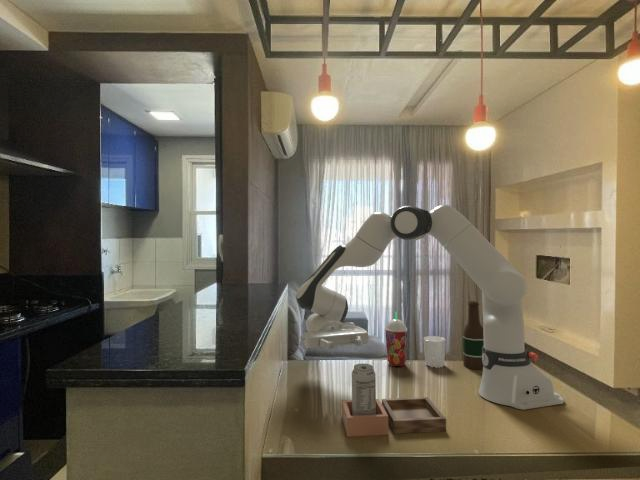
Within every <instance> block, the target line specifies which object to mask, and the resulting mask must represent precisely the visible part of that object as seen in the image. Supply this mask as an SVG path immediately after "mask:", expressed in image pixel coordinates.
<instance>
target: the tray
mask: <svg viewBox="0 0 640 480" xmlns="http://www.w3.org/2000/svg"><path fill="white" fill-rule="evenodd" d="M381 404H382V406H383V407H384V409H385V411H386V413H387V415H388V426H390V428H391V430H392V433H393V434H408V433H409V434H411V433H412V434H413V433H429V432H430V433H431V432H435V433H436V432H447V417H445V416H444V414H442V412H440V410H439V409H438V408H437V407H436V405H435V404H434V403H433V402H432V401H431V400H430V398H429V397H428V396H425V397H424V396H423V397H421V396H419V397H400V398H399V397H398V398H394V397H393V398H381Z"/></svg>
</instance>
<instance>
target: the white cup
mask: <svg viewBox="0 0 640 480" xmlns="http://www.w3.org/2000/svg"><path fill="white" fill-rule="evenodd" d="M423 350H424V351H423V352H424V354H423V355H424V362H425V366H427V365H428V366H430V367H429V368H433V367H435V368H434V369H440V367H441V368H443V367H445V358H446V357H445V356H446V338H444V337H443V336H437V335H428V336H424V337H423ZM428 366H427V367H428Z"/></svg>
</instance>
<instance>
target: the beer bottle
mask: <svg viewBox="0 0 640 480" xmlns="http://www.w3.org/2000/svg"><path fill="white" fill-rule="evenodd" d="M467 305H468V317H467V318H468V319H467V324H465V326H464V328H463V330H462V331H463V332H462V356H463V357H462V359H463V360H462V361H463V366H464V367H466V368H467V369H471V370H483V363H482V347H483V346H484V337H483V325H482V324H481V321H480V313H479V305H480V304H479V301H476V300H475V301H473V300H472V301H468V303H467Z"/></svg>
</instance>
